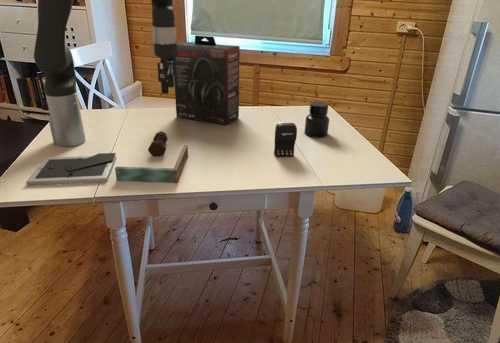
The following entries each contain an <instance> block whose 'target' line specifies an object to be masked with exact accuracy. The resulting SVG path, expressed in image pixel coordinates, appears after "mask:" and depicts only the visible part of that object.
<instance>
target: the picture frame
mask: <svg viewBox="0 0 500 343" xmlns="http://www.w3.org/2000/svg"><path fill="white" fill-rule="evenodd" d="M116 160H117V154H116V152H106V153H105V152H104V153H103V152H101V153H100V152H99V153H97V154H94V155H81V156H77V155H76V156H56V157H55V156H54V157H53V156H51V157H44V159H43V160H42V161H41V163H40V164H39V165H38V166H37V168H36V169H35V170H34V171H33V172H32V174H31V175H30V176H29V177H28V179H27V180H26V181H25V182H26V186H27V187H38V186H37V185H41V186H55V185H56V186H58V185H57V184H62V185H76V184H77V185H78V184H79V185H80V184H82V185H83V184H99V183H100V184H103V183H108V182H109V179H110V176H111V174H112V172H113V169H114V166H115V164H116Z"/></svg>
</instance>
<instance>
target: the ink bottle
mask: <svg viewBox="0 0 500 343" xmlns="http://www.w3.org/2000/svg"><path fill="white" fill-rule="evenodd" d="M328 111H329V104H328V103H327V102H324V101H311V102H310V104H309V114H307V116H306V117H305V124H304V134H305V135H307V136H308V137H311V138H324V137H327V136H328V133H329V125H330V118H329V116H328Z"/></svg>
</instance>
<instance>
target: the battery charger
mask: <svg viewBox="0 0 500 343" xmlns="http://www.w3.org/2000/svg"><path fill="white" fill-rule="evenodd" d="M297 137H298V128H297V125H296V123H294V122H292V121H291V122H290V121H289V122H287V121H286V122H285V121H281V122H277V123H276V124H275V128H274V145H273V146H274V150H273V154H274V156H275V157H277V158H291V157H292V158H293V157H294V155H295V145H296V140H297Z"/></svg>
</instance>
